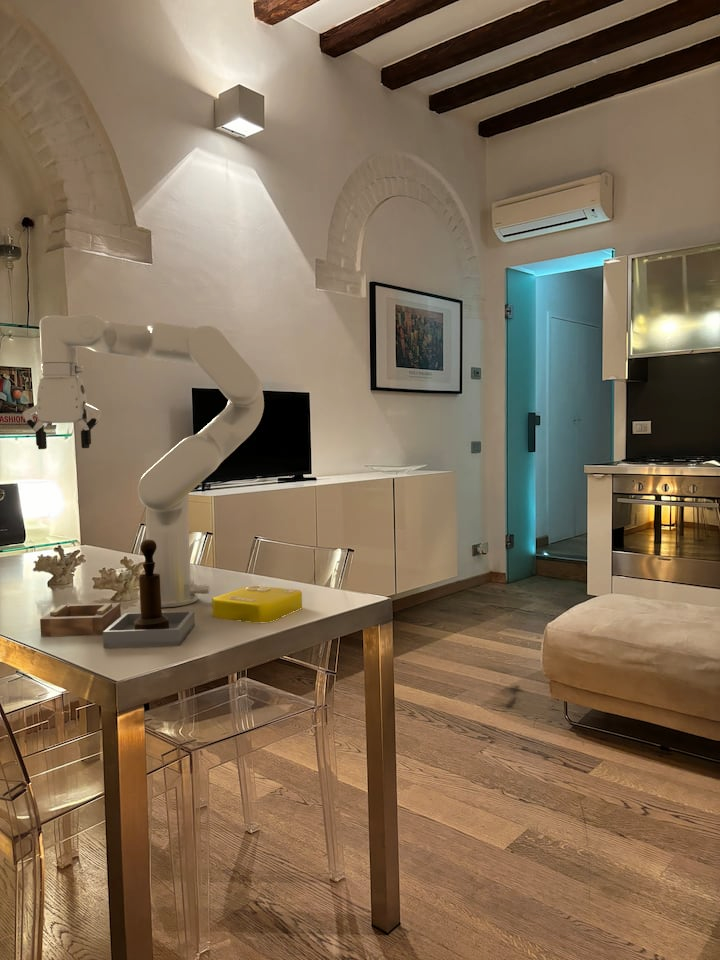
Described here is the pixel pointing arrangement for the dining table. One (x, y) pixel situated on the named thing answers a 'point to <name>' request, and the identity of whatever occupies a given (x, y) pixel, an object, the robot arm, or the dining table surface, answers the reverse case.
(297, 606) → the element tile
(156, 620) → the wooden pepper mill
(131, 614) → the gray square tray
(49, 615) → the walnut tray
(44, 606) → the dining table surface
